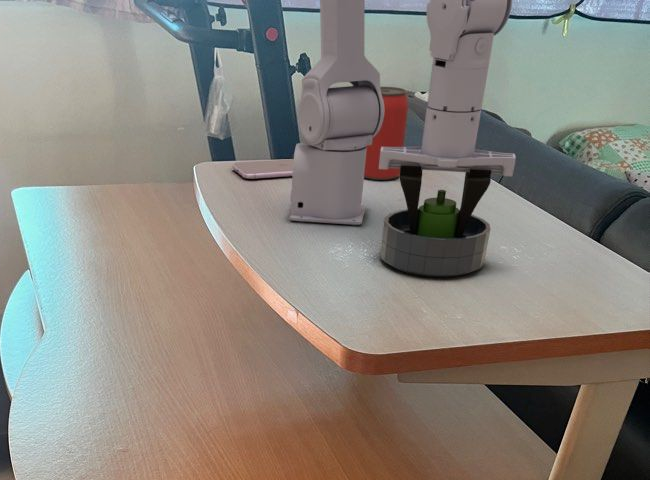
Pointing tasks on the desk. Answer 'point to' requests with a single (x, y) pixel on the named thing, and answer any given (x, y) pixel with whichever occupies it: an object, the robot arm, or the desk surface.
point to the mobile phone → (265, 169)
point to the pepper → (438, 217)
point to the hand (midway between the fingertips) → (434, 237)
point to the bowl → (433, 248)
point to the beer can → (388, 133)
